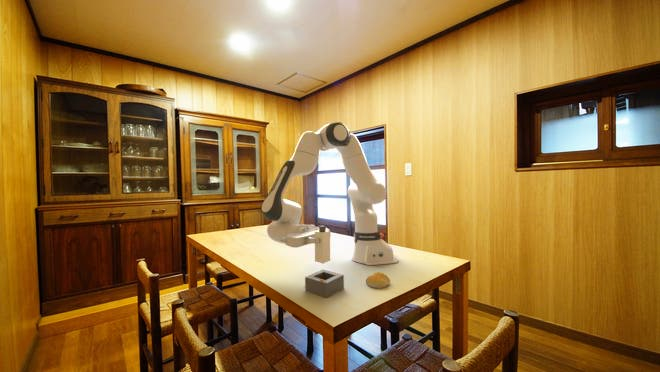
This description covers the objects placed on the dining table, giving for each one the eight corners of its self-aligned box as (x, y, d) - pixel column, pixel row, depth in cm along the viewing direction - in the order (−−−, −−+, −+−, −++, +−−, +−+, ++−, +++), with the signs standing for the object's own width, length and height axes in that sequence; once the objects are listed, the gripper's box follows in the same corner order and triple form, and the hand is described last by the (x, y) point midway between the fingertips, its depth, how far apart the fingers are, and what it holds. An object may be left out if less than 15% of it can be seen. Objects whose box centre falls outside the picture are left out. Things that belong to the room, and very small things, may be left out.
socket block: (323, 282, 104) (322, 268, 103) (343, 288, 97) (343, 274, 97) (305, 290, 96) (305, 276, 96) (326, 298, 90) (326, 282, 89)
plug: (322, 258, 101) (321, 224, 100) (330, 260, 98) (329, 225, 98) (315, 261, 98) (314, 226, 97) (323, 263, 95) (322, 227, 95)
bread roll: (362, 285, 101) (361, 274, 101) (375, 278, 107) (375, 268, 107) (380, 291, 95) (380, 280, 95) (393, 284, 101) (393, 273, 101)
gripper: (277, 231, 98) (304, 236, 89) (314, 223, 114) (340, 227, 105) (277, 248, 98) (304, 254, 89) (315, 238, 114) (340, 243, 105)
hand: (324, 239), depth 97 cm, fingers closed on plug, 4 cm apart
